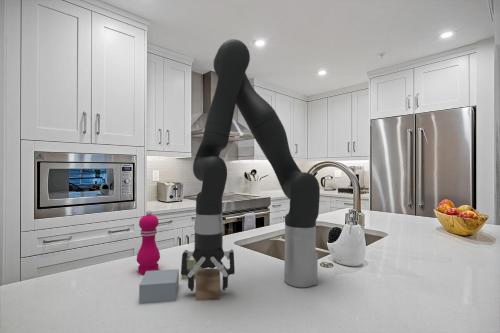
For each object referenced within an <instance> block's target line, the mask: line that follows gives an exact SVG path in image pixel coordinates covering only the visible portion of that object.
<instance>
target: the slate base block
mask: <svg viewBox="0 0 500 333" xmlns="http://www.w3.org/2000/svg"><path fill="white" fill-rule="evenodd" d="M179 272H180V270H179V268H173V269H160V270H159V269H158V270H155V271H146V272H145V274H143V277H142V278H141V280H140V283H139V286H138V290H139V292H138V296H139V297H138V304H139V305H143V304H155V303H167V302H168V303H169V302H175V301H176V302H177V298H178V292H179V286H180V285H179V281H180V280H179V276H180V274H179Z"/></svg>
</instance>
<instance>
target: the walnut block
mask: <svg viewBox="0 0 500 333" xmlns="http://www.w3.org/2000/svg"><path fill="white" fill-rule="evenodd" d="M220 288H221V272H220V271H219V270H218V269H217V267H214V268H203V269H198V273H197V276H196V279H195V301H219V300H220V292H221V291H220V290H221V289H220Z"/></svg>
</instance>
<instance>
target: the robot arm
mask: <svg viewBox="0 0 500 333" xmlns="http://www.w3.org/2000/svg"><path fill="white" fill-rule="evenodd" d="M248 48H249V47H248V46H247V45H246V44H245V43H244V42H243V41H241V40H240V39H239V40H238V39H235V38H231V39H230V38H229V39H227V40H226V41H224V42H223V43H222V44H221V45H220V46H219V48H218V50H217V52H216V54H215V56H214V59H213V69H214V72H215V74H216V76H217V81H216V82H217V83H216V87H215V92H214V93H213V98H212V101H211V105H210V107H209V110H208V112H207V116H206V120H205V124H204V130H203V134H202V140H201V143H200V144H199V146H198V149H197V151H196V153H195V155H194V156H195V157H194V160H193V165H192V172H193V175H194V177H195V178H196V179H197V180H198V181H200V182H202V184H201V191H200V192H198V193H197V195H196V198H195V219H194V227H193V228H194V248H193V249H194V250H193V251H188V250H187V249H184V250H183V252H182V254H181V265H180V266H181V269H180V275H186V276H188V279H187V288H188V289H189V290H190V292H193V291H194V289H195V279H194V273H195V272H196V271H197V270H198V268H199V267H202V268H203V269H214V268H217V269H218V270H219V271H220V274H222V291H226V289H227V288H228V287H229V286H228V285H229V284H228V283H229V276H230V275H234V274H235V273H236V270H235V254H234V253H235V252H234V251H235V250H234V249H229V250H228V251H226V250H224V248H223V242H224V240H223V235H224V234H223V233H224V225H223V224H224V221H223V196H224V192H225V189H226V184H227V179H228V168H227V165H226V162H225V159H223V158H222V157H220V155H221V152H222V151H223V150H224V149H226V148H227V146H228V144H229V140H230V134H231V129H232V125H233V120H234V119H233V118H234V114H235V110H236V106H237V108H238V110H239V112H240V115H241V116H242V117H243V119H244V122H245V123H246V125H247V127H248V129H249V130H250V133H251V134H252V135H253V136H252V137H253V138H254V139H255V141H256V143H257V145H258V146H259V148H260V149H261V151H262V153H263V155H264V156H265V158H266V159H267V161H268V162H269V164H270V166H271V167H272V170H273V172H274V174H275V176H276V178H277V181H278V183H279V185H280V188H281V190H282V192H283V194H284V196H286V197H287V198H288V199H289V211H288V213H286V215H285V217H284V219H285V220H284V268H283V269H284V271H283V272H284V273H283V277H284V278H283V280H284V282H285V283H286V284H287V285H289V286H292V287H295V288H301V289H303V288H310V287H314V286H317V285H318V263H319V261H318V258H319V257H318V256H319V255H318V254H319V253H318V251H317V250H316V238H317V237H316V232H317V228H316V227H317V226H316V224H317V219H318V217H319V211H320V200H321V199H320V198H321V197H320V196H321V194H320V193H321V192H320V191H321V189H320V183H319V180H318V179H317V177H316V176H315V175H314V174H312V173H310V172H306V171H305V172H302V170H301V169H300V168H299V166H298V165H297V163H296V161H295V159H294V158H293V156H292V153H291V150H290V146H289V145H290V144H289V140H288V135H287V132H286V129H285V126H284V125H283V123H282V121H281V118H280V117H279V115H278V114H277V112H276V110H275V109H274V108H273V106H272V105H271V104H270V103H269V102H267V100H265V99H264V98H263V97H262V96H261V95H260V94H259V93H257V91H256V90H255V88H254V87H253V85H252V84H251V82H250V80H249V78H248V76H247V74H246V72H247V69H248V67H249V64H250V60H251V56H250V55H251V54H250V51H249V49H248ZM191 256H193V258H194V259H195V261H196V262H195V264H194V265H193V267H192V268H191V269H190V270H189V269H187V262H188V260H189V259H190V257H191ZM224 257H226V259H227V260H229V268H227V267H226V266H225V264H224V262H223V259H224Z"/></svg>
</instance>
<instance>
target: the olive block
mask: <svg viewBox="0 0 500 333" xmlns="http://www.w3.org/2000/svg"><path fill="white" fill-rule="evenodd" d="M195 262H196V261H195V259H194V258H193V256H191V257H190V259H189V260H188V262H187V269H189V270H190V269H191V268H192V267H193V265H194V264H195ZM198 269H204V268H202V267H199V268H198ZM197 273H198V270H197V271H196V272H195V273H194V280H196V276H197ZM180 275H181V274H180ZM180 277H181V278H180V279H181V280H188V276H186V275H181V276H180Z"/></svg>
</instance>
